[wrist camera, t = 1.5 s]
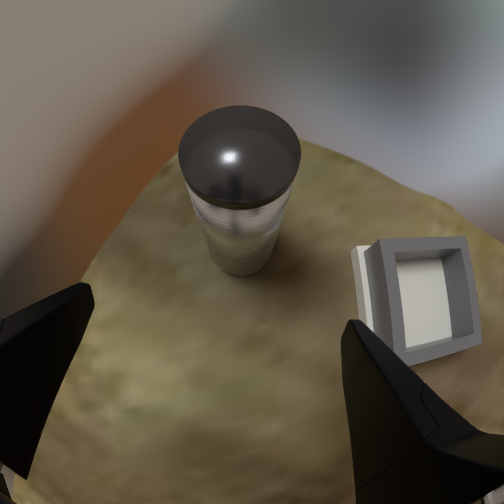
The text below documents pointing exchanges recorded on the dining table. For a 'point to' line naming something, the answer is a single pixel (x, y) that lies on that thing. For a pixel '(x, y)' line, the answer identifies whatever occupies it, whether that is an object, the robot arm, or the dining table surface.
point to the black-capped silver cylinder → (240, 182)
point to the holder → (418, 295)
